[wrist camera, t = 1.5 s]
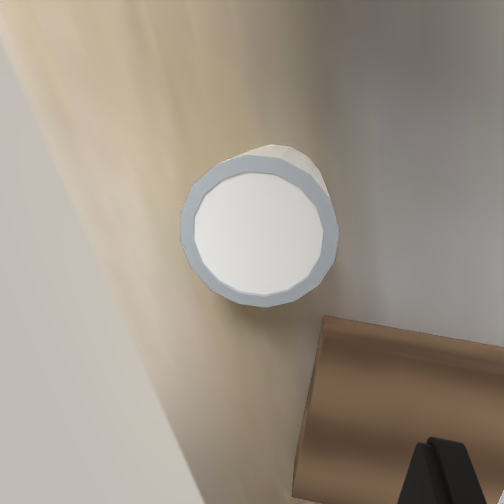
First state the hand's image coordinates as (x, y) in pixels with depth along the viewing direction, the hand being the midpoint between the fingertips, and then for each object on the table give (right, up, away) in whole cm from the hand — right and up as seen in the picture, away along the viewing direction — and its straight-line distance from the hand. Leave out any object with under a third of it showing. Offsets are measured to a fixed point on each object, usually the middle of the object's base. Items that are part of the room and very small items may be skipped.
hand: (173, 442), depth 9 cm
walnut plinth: (+11, -7, +21) cm, 24 cm away
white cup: (+3, +7, +17) cm, 18 cm away
